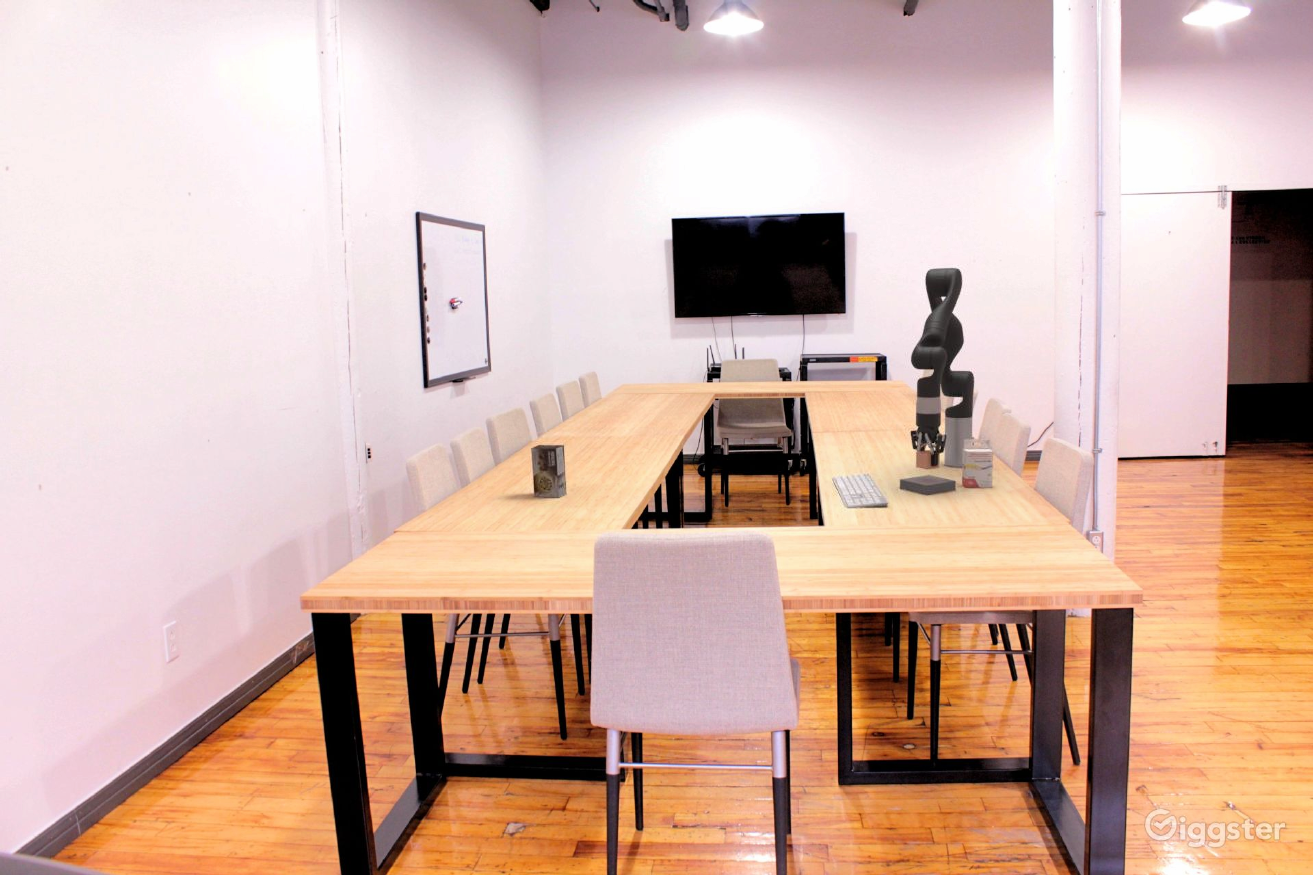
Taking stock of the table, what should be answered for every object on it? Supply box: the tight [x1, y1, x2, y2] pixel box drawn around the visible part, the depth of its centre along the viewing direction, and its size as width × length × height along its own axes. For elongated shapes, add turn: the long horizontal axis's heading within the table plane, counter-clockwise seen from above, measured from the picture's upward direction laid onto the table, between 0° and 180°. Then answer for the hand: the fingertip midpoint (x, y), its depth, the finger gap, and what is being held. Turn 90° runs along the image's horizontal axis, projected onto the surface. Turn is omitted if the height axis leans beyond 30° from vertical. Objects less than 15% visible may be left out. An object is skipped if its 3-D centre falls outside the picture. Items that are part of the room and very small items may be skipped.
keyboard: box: [831, 473, 889, 509], centre depth 318 cm, size 44×12×2 cm, turn 175°
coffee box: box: [530, 444, 567, 498], centre depth 326 cm, size 9×6×16 cm
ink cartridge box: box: [961, 438, 994, 488], centre depth 320 cm, size 9×5×15 cm, turn 84°
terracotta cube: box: [915, 449, 941, 470], centre depth 317 cm, size 5×5×5 cm
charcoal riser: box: [899, 474, 957, 496], centre depth 318 cm, size 12×12×3 cm
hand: (927, 464), depth 317 cm, fingers closed on terracotta cube, 5 cm apart
